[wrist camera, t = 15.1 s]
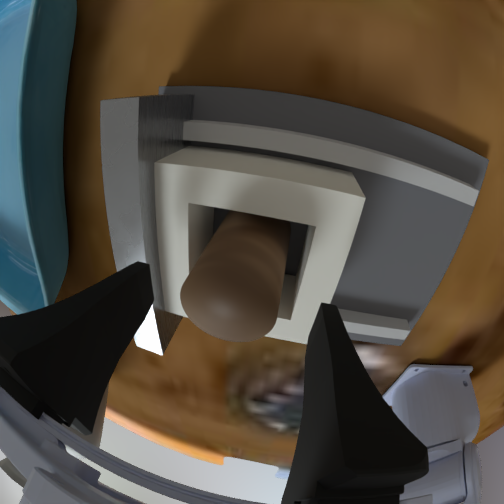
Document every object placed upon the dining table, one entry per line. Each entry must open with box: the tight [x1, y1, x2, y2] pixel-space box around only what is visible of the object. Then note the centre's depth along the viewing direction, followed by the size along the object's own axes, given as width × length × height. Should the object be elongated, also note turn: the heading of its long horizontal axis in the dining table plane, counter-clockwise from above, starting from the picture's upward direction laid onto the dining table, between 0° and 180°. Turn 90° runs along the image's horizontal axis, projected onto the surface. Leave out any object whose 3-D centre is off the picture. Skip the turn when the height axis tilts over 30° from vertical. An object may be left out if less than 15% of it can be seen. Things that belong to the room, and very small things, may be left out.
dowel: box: [180, 210, 291, 342], centre depth 14 cm, size 4×4×7 cm
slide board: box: [159, 86, 489, 346], centre depth 16 cm, size 20×16×2 cm
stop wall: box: [100, 94, 195, 355], centre depth 15 cm, size 2×15×6 cm, turn 173°
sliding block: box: [154, 146, 366, 344], centre depth 15 cm, size 9×9×4 cm
